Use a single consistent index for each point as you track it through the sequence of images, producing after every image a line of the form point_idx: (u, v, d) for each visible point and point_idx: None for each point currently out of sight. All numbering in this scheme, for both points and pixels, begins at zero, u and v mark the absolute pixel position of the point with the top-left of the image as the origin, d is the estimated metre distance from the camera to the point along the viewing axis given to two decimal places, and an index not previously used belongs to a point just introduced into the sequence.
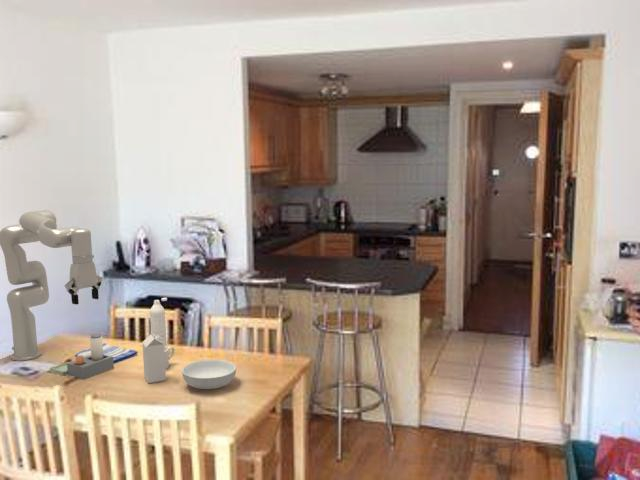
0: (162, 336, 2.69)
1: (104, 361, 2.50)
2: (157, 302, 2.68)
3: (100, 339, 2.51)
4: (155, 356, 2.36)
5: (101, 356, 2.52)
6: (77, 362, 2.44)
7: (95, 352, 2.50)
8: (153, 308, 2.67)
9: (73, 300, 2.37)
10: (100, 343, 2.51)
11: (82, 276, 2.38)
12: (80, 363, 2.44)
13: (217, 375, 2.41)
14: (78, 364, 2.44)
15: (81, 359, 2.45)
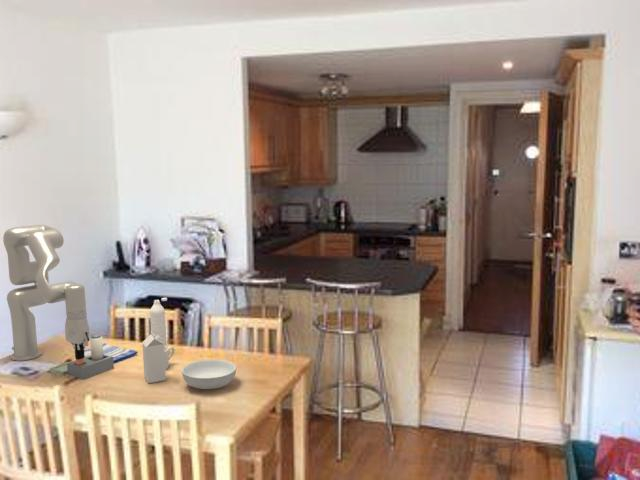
0: (162, 336, 2.69)
1: (104, 361, 2.50)
2: (157, 302, 2.68)
3: (100, 339, 2.51)
4: (155, 356, 2.36)
5: (101, 356, 2.52)
6: (77, 364, 2.44)
7: (95, 352, 2.50)
8: (153, 308, 2.67)
9: (82, 354, 2.44)
10: (100, 343, 2.51)
11: None
12: None
13: (217, 375, 2.41)
14: None
15: (81, 361, 2.45)
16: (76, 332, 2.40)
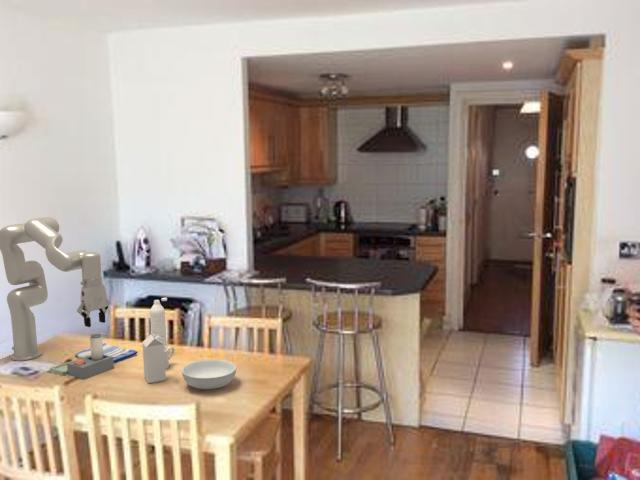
0: (162, 336, 2.69)
1: (104, 361, 2.50)
2: (157, 302, 2.68)
3: (100, 339, 2.51)
4: (155, 356, 2.36)
5: (101, 356, 2.52)
6: (77, 365, 2.44)
7: (95, 352, 2.50)
8: (153, 308, 2.67)
9: None
10: (100, 343, 2.51)
11: None
12: None
13: (217, 375, 2.41)
14: None
15: (81, 362, 2.45)
16: (103, 296, 2.50)
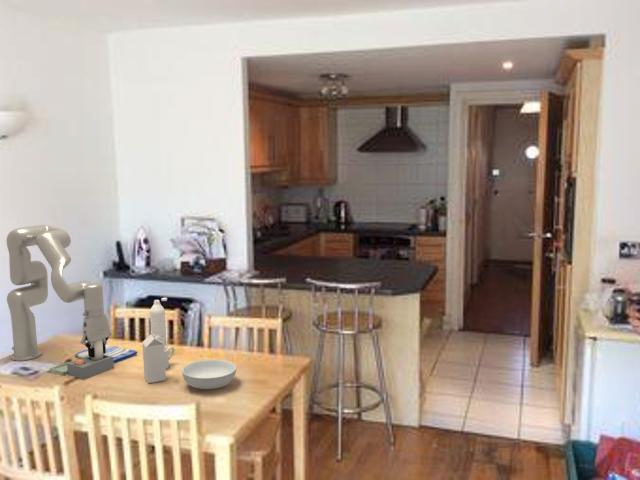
0: (162, 336, 2.69)
1: (104, 361, 2.50)
2: (157, 302, 2.68)
3: None
4: (155, 356, 2.36)
5: (101, 356, 2.52)
6: (77, 365, 2.44)
7: (95, 352, 2.50)
8: (153, 308, 2.67)
9: None
10: (100, 343, 2.51)
11: None
12: None
13: (217, 375, 2.41)
14: None
15: (81, 362, 2.45)
16: (105, 326, 2.52)
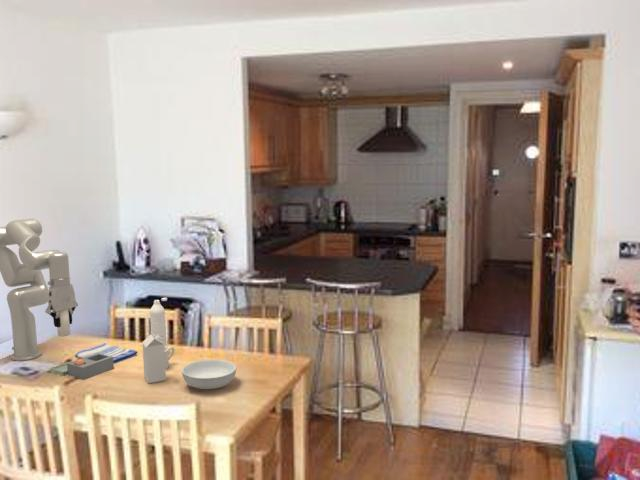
0: (162, 336, 2.69)
1: (104, 361, 2.50)
2: (157, 302, 2.68)
3: (66, 309, 2.47)
4: (155, 356, 2.36)
5: (67, 326, 2.48)
6: (77, 365, 2.44)
7: (61, 322, 2.47)
8: (153, 308, 2.67)
9: None
10: (66, 313, 2.48)
11: None
12: None
13: (217, 375, 2.41)
14: None
15: (81, 362, 2.45)
16: (71, 296, 2.49)
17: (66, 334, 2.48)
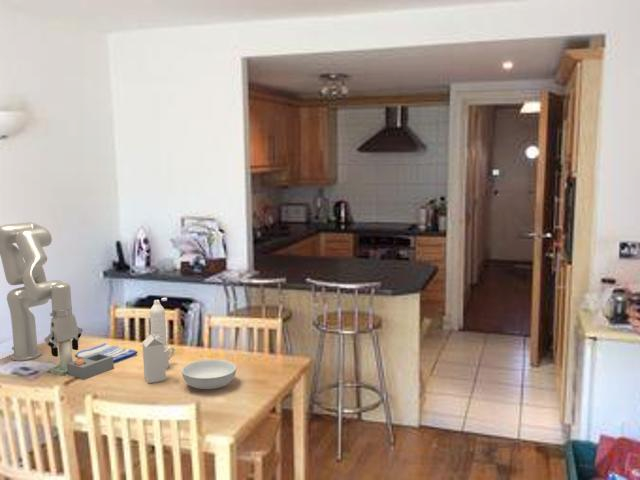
0: (162, 336, 2.69)
1: (104, 361, 2.50)
2: (157, 302, 2.68)
3: (68, 343, 2.49)
4: (155, 356, 2.36)
5: (70, 360, 2.50)
6: (77, 365, 2.44)
7: (63, 356, 2.49)
8: (153, 308, 2.67)
9: None
10: (68, 347, 2.50)
11: None
12: None
13: (217, 375, 2.41)
14: None
15: (81, 362, 2.45)
16: (73, 326, 2.51)
17: None
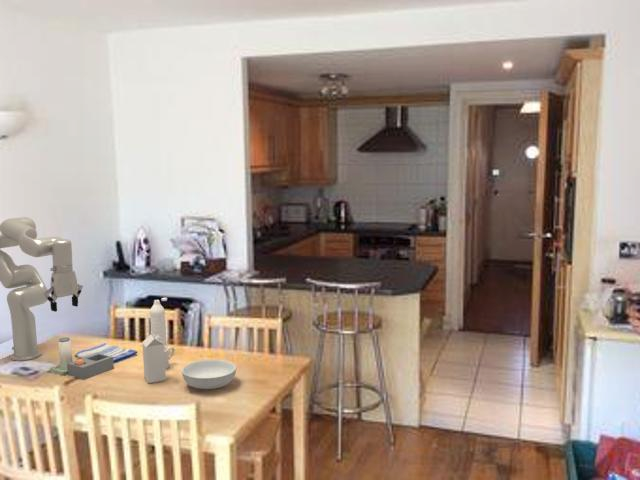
0: (162, 336, 2.69)
1: (104, 361, 2.50)
2: (157, 302, 2.68)
3: (68, 343, 2.50)
4: (155, 356, 2.36)
5: (69, 360, 2.50)
6: (77, 365, 2.44)
7: (63, 356, 2.49)
8: (153, 308, 2.67)
9: None
10: (68, 347, 2.50)
11: None
12: None
13: (217, 375, 2.41)
14: None
15: (81, 362, 2.45)
16: (73, 283, 2.53)
17: None
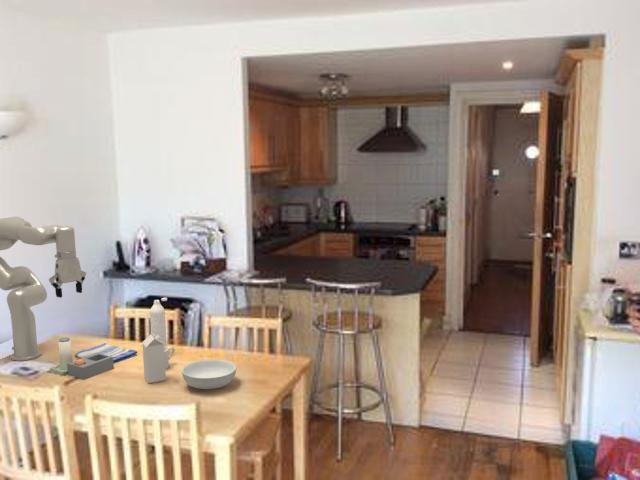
0: (162, 336, 2.69)
1: (104, 361, 2.50)
2: (157, 302, 2.68)
3: (68, 343, 2.50)
4: (155, 356, 2.36)
5: (69, 360, 2.50)
6: (77, 365, 2.44)
7: (63, 356, 2.49)
8: (153, 308, 2.67)
9: None
10: (68, 347, 2.50)
11: None
12: None
13: (217, 375, 2.41)
14: None
15: (81, 362, 2.45)
16: (77, 269, 2.57)
17: None
